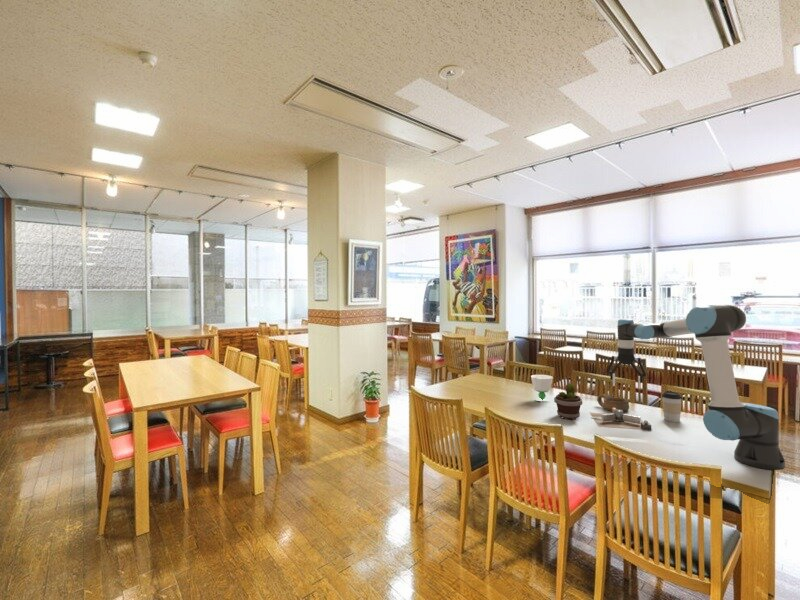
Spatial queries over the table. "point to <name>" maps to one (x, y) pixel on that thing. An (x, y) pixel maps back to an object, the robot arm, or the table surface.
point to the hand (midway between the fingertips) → (626, 387)
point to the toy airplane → (620, 423)
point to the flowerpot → (568, 403)
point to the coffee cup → (671, 406)
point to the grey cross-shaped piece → (620, 417)
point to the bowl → (613, 403)
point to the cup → (541, 384)
